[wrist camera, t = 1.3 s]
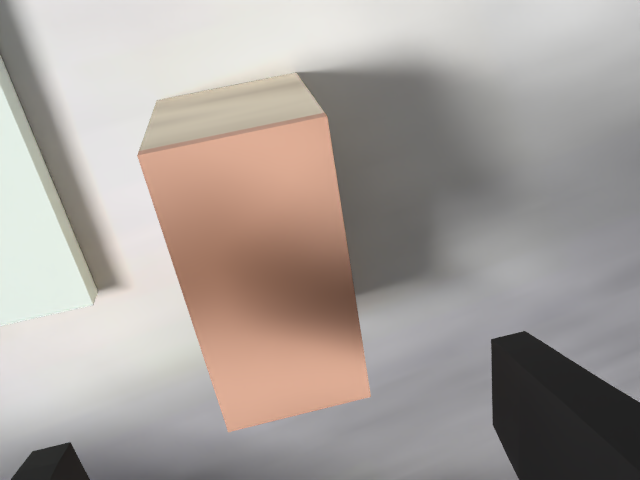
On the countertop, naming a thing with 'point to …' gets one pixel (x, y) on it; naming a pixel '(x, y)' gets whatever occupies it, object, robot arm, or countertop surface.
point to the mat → (33, 227)
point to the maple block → (259, 246)
